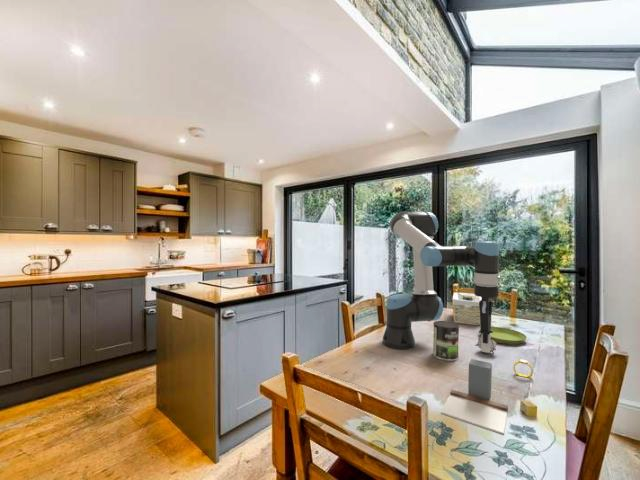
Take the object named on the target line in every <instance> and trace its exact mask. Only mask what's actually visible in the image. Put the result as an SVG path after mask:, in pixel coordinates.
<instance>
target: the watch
mask: <svg viewBox="0 0 640 480" xmlns="http://www.w3.org/2000/svg"><path fill="white" fill-rule="evenodd" d="M517 364H523V365H527V366H529V368H530V373H529V374H527V375H525V374H521V373H519V372H518V371H516V365H517ZM512 369H513V371H514V373H515V375H517V377H523V378H530V377H532V376H533V374H534V369H533V366H532V365H531V364H530V363H529V362H528V360H526V359H519V360H517V361H515V362H514V364H513V367H512Z"/></svg>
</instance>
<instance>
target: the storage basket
mask: <svg viewBox="0 0 640 480" xmlns="http://www.w3.org/2000/svg"><path fill="white" fill-rule="evenodd" d="M464 298H468V300H467V299H464ZM481 298H482V297H480V296H476V295H475V294H474V293H469V292H453V295H452V308H453V321H454V322H453V323H456V324H464V325H469V326H470V325H471V326H472V325H473V326H480V309H479V308H480V306H479V301H480V300H481ZM469 299H471V300H469Z"/></svg>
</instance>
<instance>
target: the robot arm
mask: <svg viewBox="0 0 640 480" xmlns="http://www.w3.org/2000/svg"><path fill="white" fill-rule="evenodd" d="M389 226H390V230H391V232H392V233H393V234H394V236H396V237H398V238H402V239H403V240H404V241H405V242H406V243H407V244H408V245H409V246H411V247H412V250H413V252H412V255H413V273H414V291H412V293H411V294H408V293H396V294H391V295H390V296H388V297H387V299H386V304H385V307H386V325H385V330H384V332H383V336H382V344H383V345H384V346H385V347H388V348H391V349H396V350H409V349H413V348H414V347H415V346H416V340H415V337H414V332H413V331H412V330H413V329H412V323H413V322H417V323H418V322H431V321H434V322H435V321H439V320H440V318H441V317H442V316H443V312H444V304H443V301H442V298H441V297H439V296H438V293H437V292H436V291H435V290H434V277H433V267H462V266H463V267H474V272H473V275H474V276H473V283H474V284H475V285H474V286H473V287H474V288H473V289H474V292H473V294H475V295H476V296H480V297H482V298H481V300H480V301H479V306H480V308H479V309H480V325H479V326H480V328H479V329H481V330H480V331H478V333H479V334H480V335H481V349H480V352H482V353H483V352H487V353H486V354H489V353H491V352H490V333H493V331H491V327H492V314H493V306H494V301H493V300H492V299H495V298H496V299H497V298H498V297H499V292H500V291H499V289H500V287H498V285H499V280H501V276H499V271H500V270H499V269H500V267H499V266H500V247H499V242H497V241H475V243H474V246H470V245H469V246H468V245H458V246H457V245H455V246H454V245H451V246H450V245H449V246H448V245H447V246H446V245H440V244H439V243H438V242H437V241H435V240H433V239H434V238H435V235H436V234H437V232H438V229H439V221H438V217H436V215H435V214H434V213H433V212H429V211H425V210H424V211H407V210H406V211H400V212H398V213H396V214H394V215H393V216H392V218H391V220H390V223H389Z"/></svg>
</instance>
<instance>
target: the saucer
mask: <svg viewBox="0 0 640 480" xmlns="http://www.w3.org/2000/svg"><path fill="white" fill-rule="evenodd" d="M478 330H479V331H480V330H481V329H480V328H479V329H478ZM479 331H478V332H479ZM491 331H493V333H490V337H491V338H493V340H494V341H495V342H496V343H497V342H498V344H503V345H519V344H522V343H524V342H525V341H526V340H527V338H528V337H527V335H525V334H524V333H523V332H520V331H518V330H514V329H511V328H508V327H507V328H506V327H500V326H491Z"/></svg>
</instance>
